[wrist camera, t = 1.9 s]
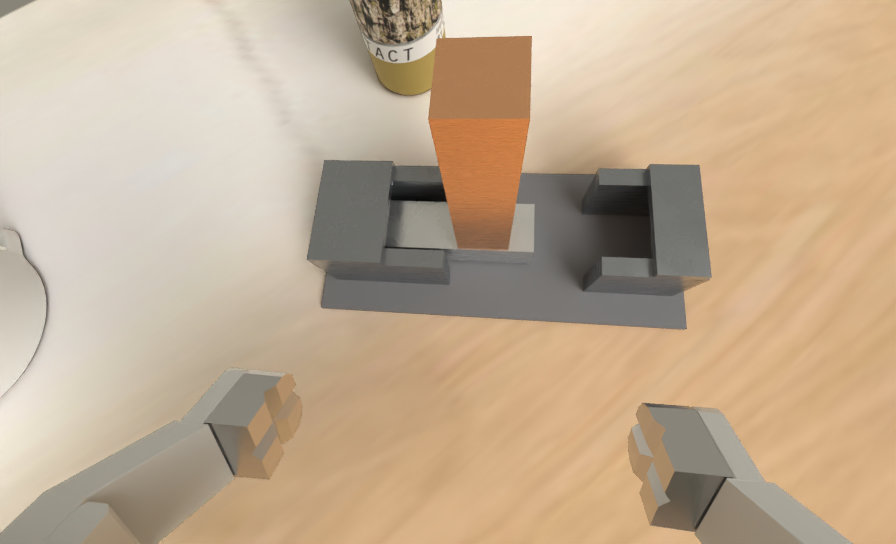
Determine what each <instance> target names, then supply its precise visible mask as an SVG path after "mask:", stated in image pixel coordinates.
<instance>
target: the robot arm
mask: <svg viewBox="0 0 896 544" xmlns="http://www.w3.org/2000/svg"><path fill="white" fill-rule="evenodd" d="M45 319H46V295H45V290H44V286H43V283H42V281H41V278H40V276H39V275H38V273H37V272H36V270H35V269H34V268H33V267H32V266H31V265H30V264H29V262H28V261H27V260H26V259H25V257H24V256H23V252H22V246H21V242H20V238H19V236H18V234H17V233H16V232H15V231H12V230H8V229H3V228H0V397H1V396H2V395H3V394H5V393H6V392H7V391H8V390H9V389H10V388H11V386H12V385H13V384H14V383H15V382H16V381H17V380H18V378H19V377H20V376H21V374H22V373H23V372H24V370H25V369H26V367H27V366H28V364H29V362H30V361H31V359H32V357H33V355H34V353H35V351H36V349H37V347H38V344H39V342H40V339H41V336H42V333H43V329H44V324H45ZM295 385H296V384H295V381H294V378H293V375H291V374H287V373H279V372H270V371H261V370H252V369H250V370H249V369H240V368H230V369H228V370H226V371H225V372H224V373H223V374H222V375H221V376H220V377H219V378H218V380H217V381H216V382H215V383H214V384H213V385H212V386H211V387H210V389H209V390H208V391H207V392H206V393H205V394H204V395H203V396H202V398H201V399H200V400H199V401H198V402H197V403H196V404H195V405H194V407H193V408H192V409H191V410H190V411H189V412H188V413H187V414H186V416H185V417H184V418H183V419H182V420H181V421H173V422H171V423H169V424H167V425H166V426H164V427H162V428H160V429H158V430H157V431H155V432H153V433H151V434H149V435H147V436H146V437H144V438H142V439H140V440H138V441H136V442H135V443H133V444H131V445H129V446H127V447H126V448H124V449H122V450H120V451H118V452H116V453H115V454H113V455H111V456H109V457H107V458H105V459H104V460H102V461H100V462H98V463H96V464H95V465H93V466H91V467H89V468H87V469H85V470H84V471H82V472H80V473H78V474H76V475H74V476H73V477H71V478H69V479H67V480H65V481H64V482H62V483H60V484H58V485H56V486H54V487H53V488H51V489H49V490H47V491H45V492H44V493H42V494H41V495H40V496H39V497H38V498H37V499H36V500H35V501H34V502H33V503H32V504H31V505H30V506H29V507H28V508H27V509H25V510H24V511H23V512H22V513H21V514H20V515H19V516H18V517H17V518H16V519H15V520H14V521H13V522H12V523H11V524H10V525H9V526H8V527H6V528H5V529H4V530H3V531H2V532H1V533H0V544H158V543H159V542H160V541H161V540H162V539H164V538H165V537H166V536H167V535H168V534H169V533H171V532H172V531H173V530H174V529H175V528H177V527H178V526H179V525H180V524H181V523H183V522H184V521H185V520H186V519H187V518H188V517H190V516H191V515H192V514H193V513H194V512H196V511H197V510H198V509H199V508H200V507H202V506H203V505H204V504H205V503H206V502H207V501H209V500H210V499H211V498H212V497H213V496H215V495H216V494H217V493H218V492H219V491H221V490H222V489H223V488H224V487H225V486H227V485H228V484H229V483H230V482H231V481H232V480H234V476H235V477H246V478H257V479H268V480H269V479H270V477H271V476H272V474H273V472H274V470H275V468H276V467H277V465H278V463H279V461H280V459H281V458H282V456H283V454H284V451H283V443H285V442H286V441H288V440H289V439H290V438H292V437H293V436H294V434H295V432H296V430H297V428H298V426H299V423H300V419H301V415H302V404H301V400H300V397H299V396H297V395H296V394H295V393H294V392H293V391H292V390H293V389H294V387H295ZM636 416H637V419H638V422H639V423H638V424H637V425H635V426H634V427H632V428H631V431H630V435H629V438H628V452H629V458H630V463H631V466H632V470H633V473H634V474H635V475H636V476H637V477H638V478H639V479H640V480H641V481H642V482H643V485H642V488H641V490H640V496H641V499H642V502H643V505H644V508H645V511H646V514H647V518H648V521H649V524H650V525H651V526H658V527H664V528H671V529H678V530H685V531H691V532H695V536H696V537H697V538H698V539H699V540H700V542H701V543H702V544H853V543H852V542H850V541H849V540H848V539H846V538H845V537H844V536H842V535H841V534H840V533H839V532H837V531H836V530H835V529H833V528H832V527H831V526H829V525H828V524H827V523H826V522H824V521H823V520H822V519H820V518H819V517H818V516H816V515H815V514H814V513H813V512H811V511H810V510H809V509H807V508H806V507H805V506H803V505H802V504H801V503H800V502H798V501H797V500H796V499H794V498H793V497H792V496H790V495H789V494H788V493H787V492H785V491H784V490H783V489H781V488H780V487H779V486H778V485H776V484H775V483H770V482H766V481H765V480H764V478H763V477H762V475H761V473H760V472H759V470H758V469H757V467H756V465H755V464H754V462H753V461H752V459H751V457H750V456H749V454H748V453H747V451H746V449H745V448H744V446H743V444H742V443H741V441H740V440H739V438H738V436H737V435H736V433H735V432H734V430H733V428H732V427H731V425H730V424H729V422H728V420H727V419H726V417H725V416H724V414H723V413H722V412H721V411H720V410H718V409H714V408H701V407H689V406H677V405H664V404H650V403H642V404H641V405H640V406H639V407H638V410H637V413H636Z"/></svg>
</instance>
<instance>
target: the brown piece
mask: <svg viewBox="0 0 896 544" xmlns="http://www.w3.org/2000/svg"><path fill="white" fill-rule="evenodd" d="M531 47H532V36H514V37H474V38H437V39H436V48H435V58H434V68H433V78H432V88H431V97H430V107H429V117H428V120H429V124H430V128H431V133H432V137H433V142H434V146H435V150H436V155H437V159H438V164H439V168H440V172H441V177H442V181H443V185H444V190H445V194H446V199H447V202H427V201H390V210H389V218H388V226H387V234H386V242H385V248H393V249H419V250H444V252H445V255H446V258H447V260H452V261H476V262H499V263H523V264H530V261H531V258H532V256H533V253H534V211H535V204H516V200H517V194H518V188H519V182H520V176H521V170H522V164H523V158H524V152H525V146H526V140H527V134H528V128H529V122H530V94H531Z"/></svg>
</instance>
